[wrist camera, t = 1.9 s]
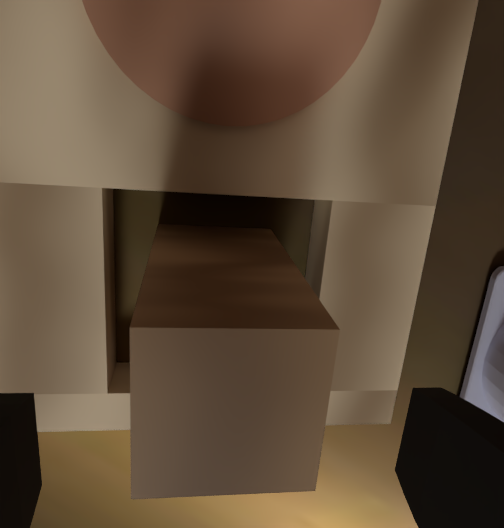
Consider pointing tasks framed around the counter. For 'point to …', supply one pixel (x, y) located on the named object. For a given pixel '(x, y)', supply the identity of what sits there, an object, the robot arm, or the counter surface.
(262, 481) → the walnut block
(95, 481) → the counter surface
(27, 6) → the holder board
